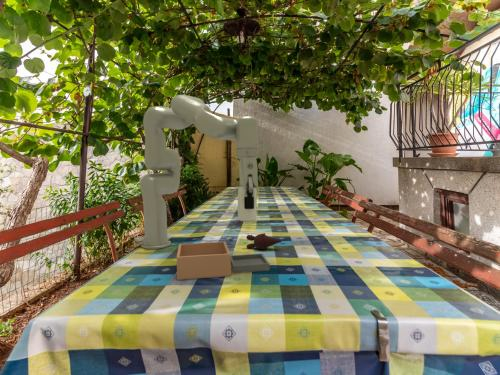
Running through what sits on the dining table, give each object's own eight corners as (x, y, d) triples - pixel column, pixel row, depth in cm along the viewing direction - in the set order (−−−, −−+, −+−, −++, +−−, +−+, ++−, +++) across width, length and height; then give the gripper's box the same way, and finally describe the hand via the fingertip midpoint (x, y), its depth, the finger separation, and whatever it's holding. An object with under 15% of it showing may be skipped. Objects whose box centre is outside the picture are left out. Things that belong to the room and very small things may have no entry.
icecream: (282, 232, 133) (248, 234, 137) (279, 231, 126) (243, 233, 130) (283, 249, 131) (249, 250, 136) (279, 249, 125) (243, 250, 129)
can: (254, 222, 105) (254, 186, 105) (235, 221, 107) (235, 185, 106) (257, 219, 112) (258, 185, 111) (240, 218, 113) (240, 185, 113)
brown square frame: (177, 279, 98) (176, 257, 97) (179, 263, 114) (179, 244, 113) (230, 275, 100) (230, 254, 100) (225, 260, 117) (225, 241, 116)
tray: (233, 273, 103) (233, 266, 103) (229, 261, 115) (229, 255, 115) (269, 270, 105) (269, 263, 105) (262, 259, 117) (262, 253, 117)
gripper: (263, 153, 99) (263, 211, 101) (253, 154, 116) (254, 204, 117) (239, 153, 98) (240, 211, 99) (233, 154, 115) (233, 205, 116)
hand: (247, 207), depth 108 cm, fingers closed on can, 4 cm apart
